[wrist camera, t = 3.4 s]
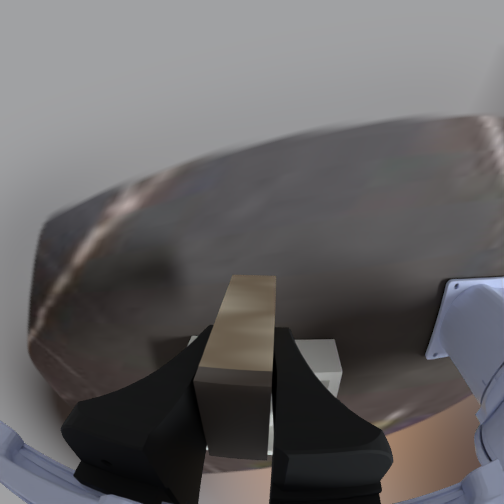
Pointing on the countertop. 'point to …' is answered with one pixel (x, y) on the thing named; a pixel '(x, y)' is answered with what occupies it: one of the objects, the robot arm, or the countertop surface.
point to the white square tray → (314, 369)
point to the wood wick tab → (239, 371)
